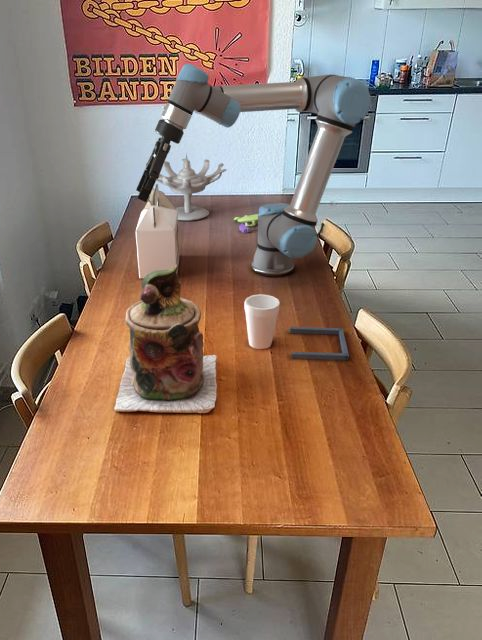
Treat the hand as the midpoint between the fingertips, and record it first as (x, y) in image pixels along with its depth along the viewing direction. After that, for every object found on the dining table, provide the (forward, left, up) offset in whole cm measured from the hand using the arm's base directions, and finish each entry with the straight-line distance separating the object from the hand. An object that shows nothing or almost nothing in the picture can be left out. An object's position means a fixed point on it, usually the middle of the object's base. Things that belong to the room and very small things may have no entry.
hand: (140, 196), depth 167 cm
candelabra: (-67, -64, -35) cm, 99 cm away
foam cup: (-10, +41, -35) cm, 55 cm away
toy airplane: (-81, -29, -35) cm, 93 cm away
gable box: (-22, -24, -35) cm, 47 cm away
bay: (-21, +52, -35) cm, 66 cm away
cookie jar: (+23, +41, -35) cm, 59 cm away
